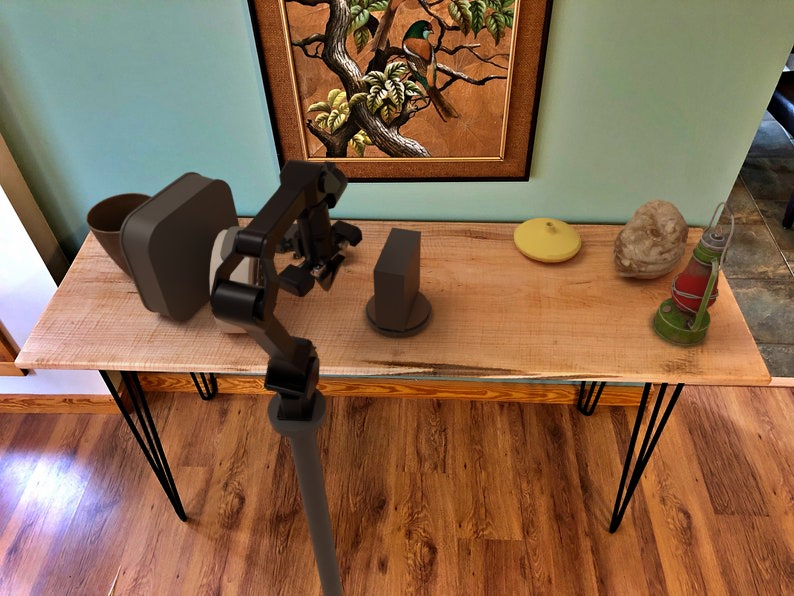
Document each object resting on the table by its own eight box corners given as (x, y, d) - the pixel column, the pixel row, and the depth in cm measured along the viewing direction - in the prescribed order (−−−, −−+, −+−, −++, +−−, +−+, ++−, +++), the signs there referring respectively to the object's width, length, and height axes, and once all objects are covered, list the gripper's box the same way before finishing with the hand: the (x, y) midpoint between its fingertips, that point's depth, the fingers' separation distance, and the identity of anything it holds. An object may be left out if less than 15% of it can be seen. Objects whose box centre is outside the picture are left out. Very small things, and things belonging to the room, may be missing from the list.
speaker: (176, 332, 129) (141, 235, 112) (144, 319, 132) (105, 223, 115) (247, 263, 146) (226, 170, 129) (218, 253, 149) (194, 160, 132)
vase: (593, 253, 147) (599, 229, 142) (544, 278, 141) (549, 253, 136) (546, 221, 157) (550, 197, 152) (498, 243, 150) (501, 219, 146)
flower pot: (174, 243, 152) (156, 187, 141) (178, 281, 141) (160, 224, 130) (110, 256, 148) (86, 199, 138) (109, 296, 138) (84, 238, 127)
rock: (682, 295, 136) (705, 240, 126) (608, 288, 138) (624, 233, 128) (669, 246, 149) (689, 192, 139) (602, 240, 151) (616, 187, 141)
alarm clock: (258, 346, 126) (241, 272, 113) (222, 346, 126) (200, 272, 113) (275, 278, 142) (261, 205, 128) (242, 278, 142) (225, 205, 129)
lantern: (645, 304, 134) (687, 185, 114) (695, 306, 133) (747, 187, 113) (659, 352, 124) (708, 230, 104) (714, 355, 123) (775, 233, 103)
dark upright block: (359, 325, 128) (355, 267, 117) (377, 282, 138) (375, 224, 127) (421, 337, 125) (422, 278, 115) (435, 291, 135) (437, 233, 125)
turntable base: (431, 339, 127) (431, 334, 126) (362, 337, 128) (362, 332, 127) (431, 293, 138) (431, 288, 136) (368, 291, 138) (368, 286, 137)
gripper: (311, 185, 117) (323, 248, 128) (243, 241, 106) (262, 305, 117) (360, 202, 112) (368, 266, 123) (293, 263, 101) (309, 327, 112)
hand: (327, 290), depth 119 cm, fingers closed
